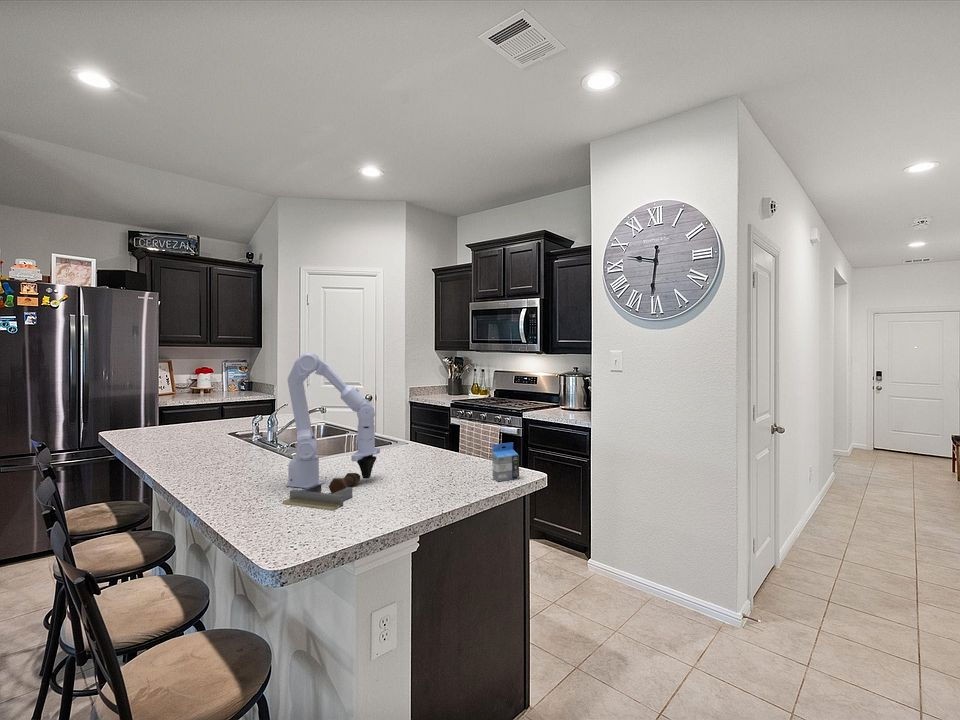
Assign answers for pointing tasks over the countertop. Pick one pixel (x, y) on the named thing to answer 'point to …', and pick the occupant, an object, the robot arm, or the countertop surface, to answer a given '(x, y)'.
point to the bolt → (344, 482)
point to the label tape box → (505, 462)
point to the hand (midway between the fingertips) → (366, 478)
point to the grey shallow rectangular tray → (318, 498)
